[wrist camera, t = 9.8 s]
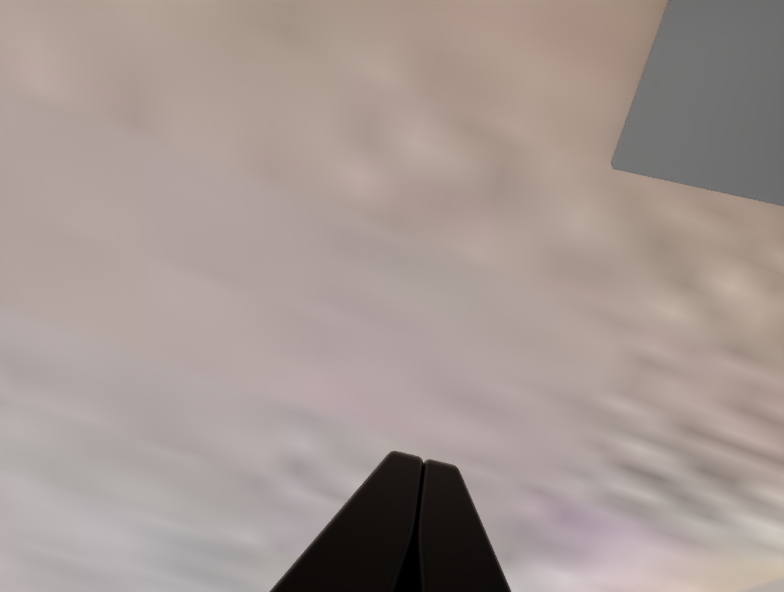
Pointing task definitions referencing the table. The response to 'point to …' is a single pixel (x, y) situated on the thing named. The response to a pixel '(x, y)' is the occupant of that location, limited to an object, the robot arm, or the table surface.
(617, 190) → the table surface
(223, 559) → the table surface
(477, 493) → the table surface
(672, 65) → the rubber mat
